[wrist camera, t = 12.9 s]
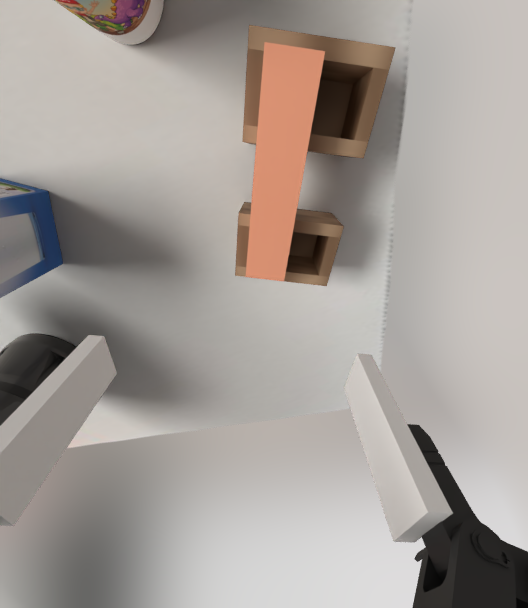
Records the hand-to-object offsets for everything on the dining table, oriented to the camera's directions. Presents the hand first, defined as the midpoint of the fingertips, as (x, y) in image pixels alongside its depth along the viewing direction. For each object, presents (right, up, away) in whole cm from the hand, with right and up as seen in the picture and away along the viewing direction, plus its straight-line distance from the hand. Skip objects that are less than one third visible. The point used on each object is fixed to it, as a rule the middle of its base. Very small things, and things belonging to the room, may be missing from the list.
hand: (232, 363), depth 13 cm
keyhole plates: (+5, +17, +15) cm, 24 cm away
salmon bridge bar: (+3, +17, +13) cm, 22 cm away
